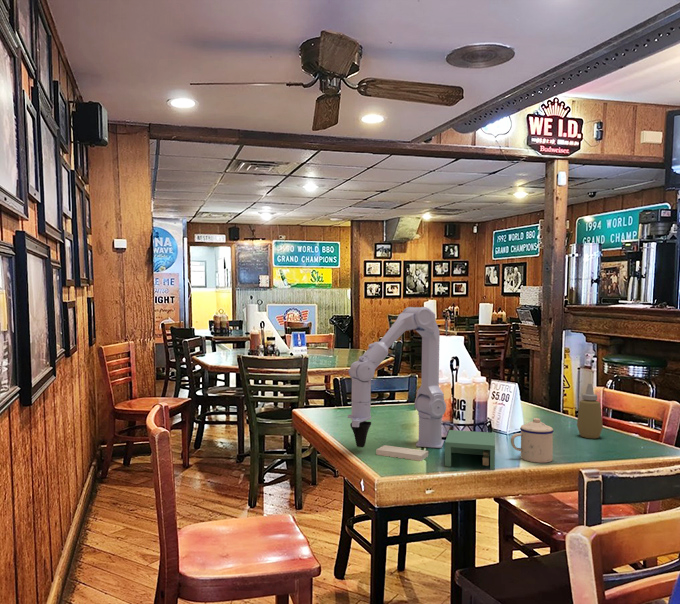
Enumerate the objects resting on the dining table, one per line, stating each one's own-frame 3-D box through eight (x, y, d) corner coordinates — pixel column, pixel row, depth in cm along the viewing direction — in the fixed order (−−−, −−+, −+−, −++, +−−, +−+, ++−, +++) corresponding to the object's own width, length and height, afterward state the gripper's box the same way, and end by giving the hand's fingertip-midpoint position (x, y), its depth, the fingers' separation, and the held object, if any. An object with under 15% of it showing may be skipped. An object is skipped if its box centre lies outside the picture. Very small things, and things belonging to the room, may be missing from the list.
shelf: (449, 451, 167) (449, 429, 167) (494, 454, 163) (494, 432, 163) (444, 465, 151) (445, 442, 151) (494, 469, 148) (494, 445, 148)
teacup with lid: (546, 454, 164) (546, 415, 164) (558, 463, 155) (558, 421, 155) (505, 454, 164) (506, 415, 164) (516, 463, 154) (516, 421, 155)
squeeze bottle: (571, 435, 189) (571, 383, 189) (587, 433, 193) (587, 381, 193) (591, 440, 182) (592, 386, 182) (608, 438, 185) (608, 384, 186)
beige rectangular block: (384, 451, 168) (384, 445, 168) (428, 457, 161) (428, 451, 161) (376, 456, 163) (376, 449, 163) (421, 462, 156) (421, 455, 156)
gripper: (354, 396, 174) (353, 440, 173) (341, 404, 160) (341, 451, 159) (375, 398, 172) (375, 441, 172) (365, 405, 158) (365, 453, 158)
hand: (360, 446), depth 165 cm, fingers closed
